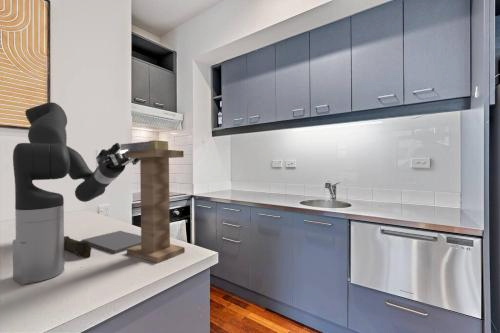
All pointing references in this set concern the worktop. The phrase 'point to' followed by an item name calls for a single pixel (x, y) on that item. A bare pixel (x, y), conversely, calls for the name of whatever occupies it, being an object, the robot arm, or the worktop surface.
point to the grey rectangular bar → (144, 146)
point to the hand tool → (78, 246)
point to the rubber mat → (115, 241)
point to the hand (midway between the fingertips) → (130, 146)
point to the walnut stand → (155, 205)
